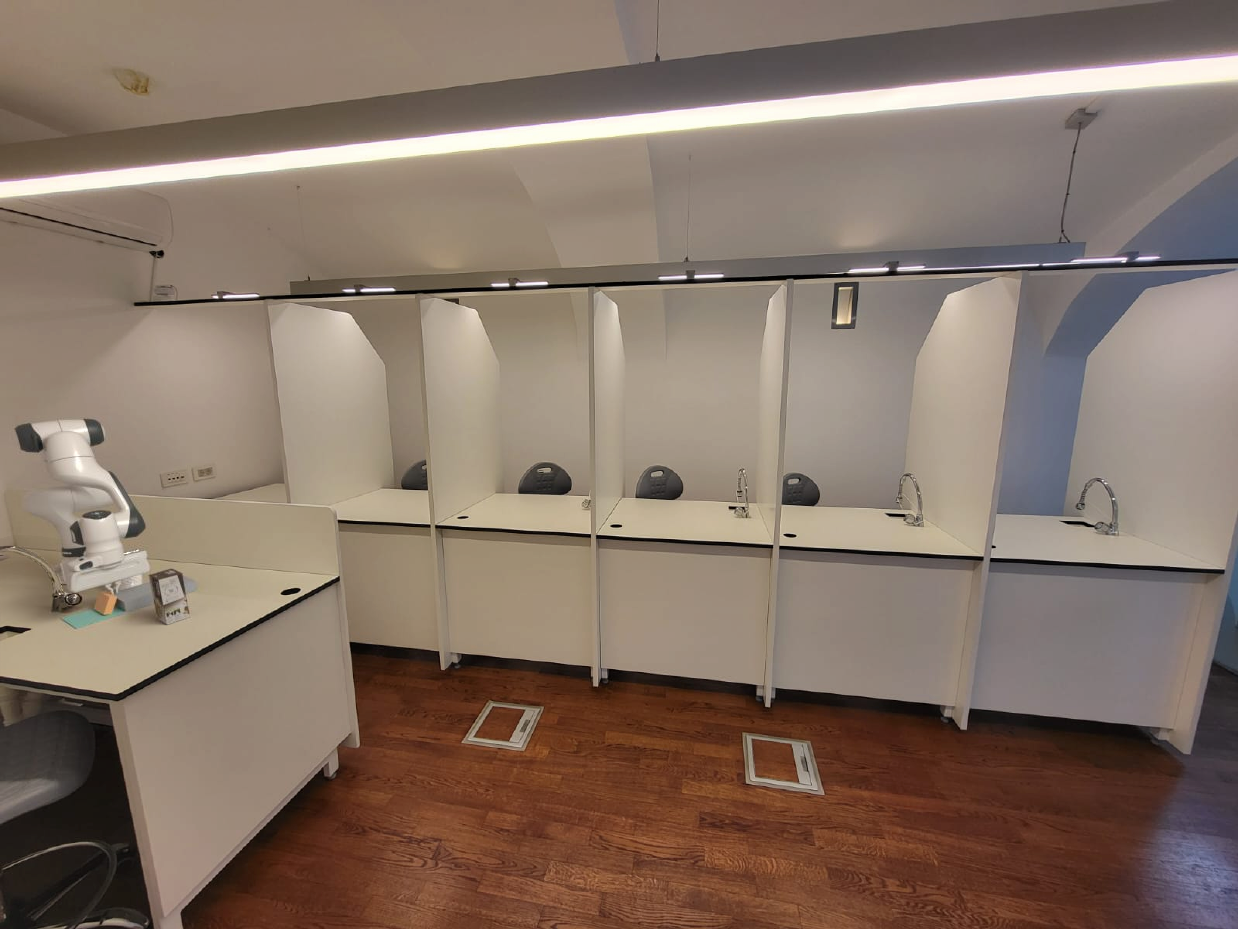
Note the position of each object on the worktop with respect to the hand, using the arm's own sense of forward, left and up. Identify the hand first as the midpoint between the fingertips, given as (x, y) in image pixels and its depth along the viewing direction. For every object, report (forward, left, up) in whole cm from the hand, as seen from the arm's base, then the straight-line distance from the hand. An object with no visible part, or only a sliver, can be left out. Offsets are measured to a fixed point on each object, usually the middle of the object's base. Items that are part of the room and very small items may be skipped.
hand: (114, 593), depth 167 cm
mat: (0, -6, -6) cm, 8 cm away
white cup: (-19, +9, -6) cm, 22 cm away
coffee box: (+26, +6, -6) cm, 28 cm away
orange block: (0, -2, -3) cm, 3 cm away
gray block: (0, +10, -6) cm, 12 cm away
